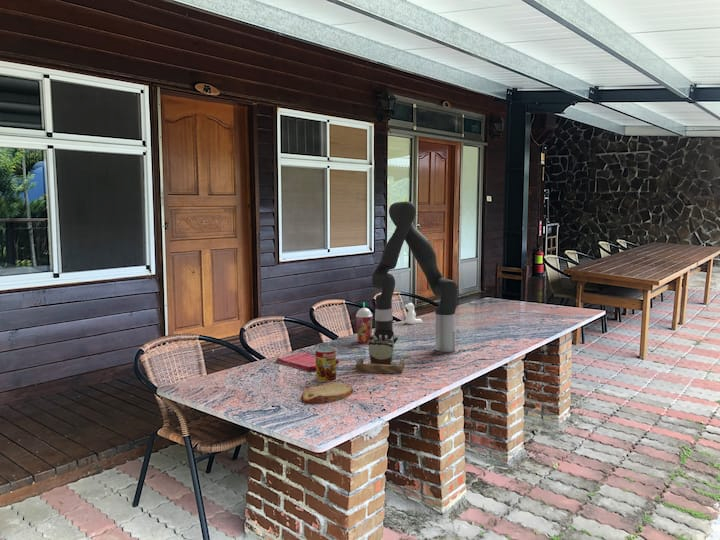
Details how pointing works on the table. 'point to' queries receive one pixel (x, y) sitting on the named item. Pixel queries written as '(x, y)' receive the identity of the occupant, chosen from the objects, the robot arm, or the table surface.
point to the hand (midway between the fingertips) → (384, 357)
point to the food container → (381, 351)
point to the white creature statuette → (411, 315)
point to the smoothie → (364, 324)
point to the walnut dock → (379, 367)
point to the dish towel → (300, 361)
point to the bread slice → (326, 393)
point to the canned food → (325, 364)
